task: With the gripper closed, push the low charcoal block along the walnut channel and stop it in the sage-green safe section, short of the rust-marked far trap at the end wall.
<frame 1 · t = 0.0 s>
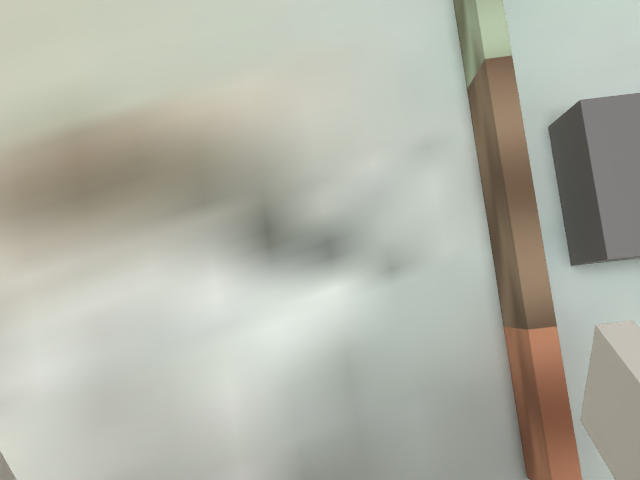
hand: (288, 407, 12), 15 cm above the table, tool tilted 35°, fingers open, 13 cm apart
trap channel: (609, 71, 29), on the table
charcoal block: (628, 188, 28), on the table
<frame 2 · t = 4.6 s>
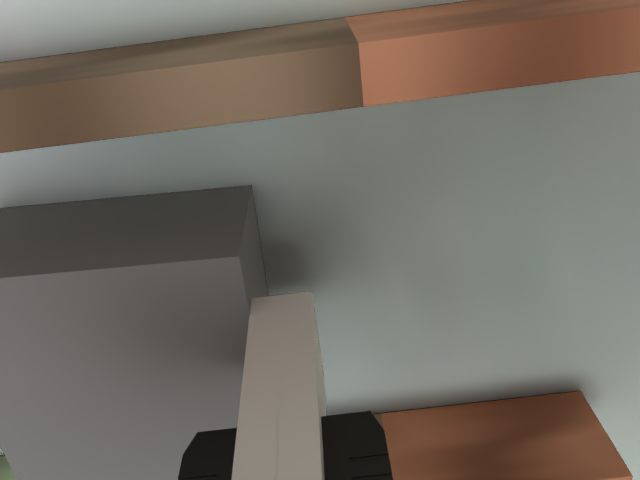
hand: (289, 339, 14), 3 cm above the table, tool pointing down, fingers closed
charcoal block: (155, 298, 17), on the table, touching gripper
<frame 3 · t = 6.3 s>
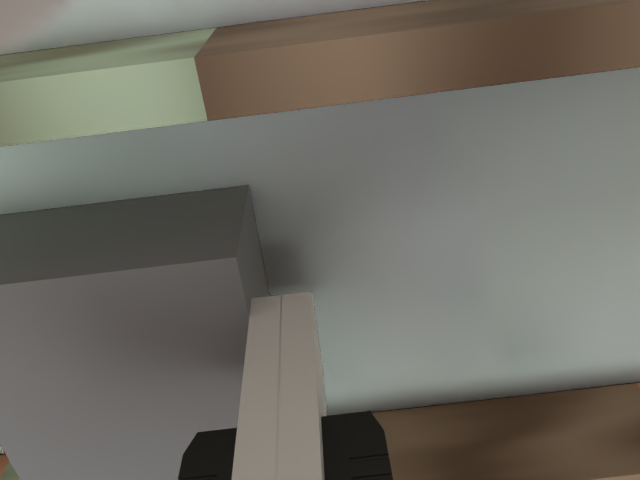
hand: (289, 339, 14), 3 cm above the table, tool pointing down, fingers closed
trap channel: (265, 279, 17), on the table
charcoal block: (156, 300, 17), on the table, touching gripper
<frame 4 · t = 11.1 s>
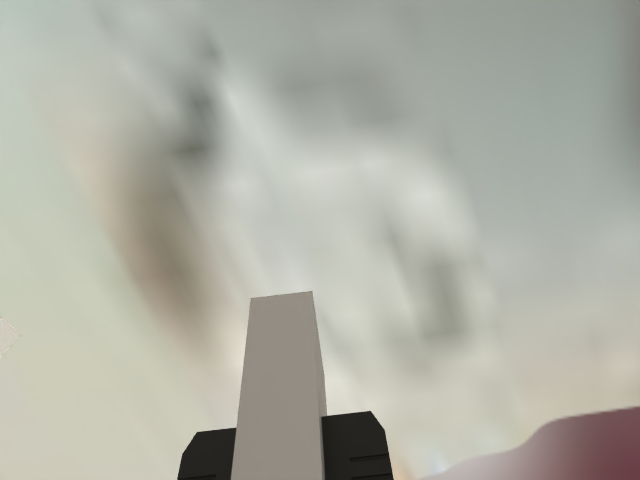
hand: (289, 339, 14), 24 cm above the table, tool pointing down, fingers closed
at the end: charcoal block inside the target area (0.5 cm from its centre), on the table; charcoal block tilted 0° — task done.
